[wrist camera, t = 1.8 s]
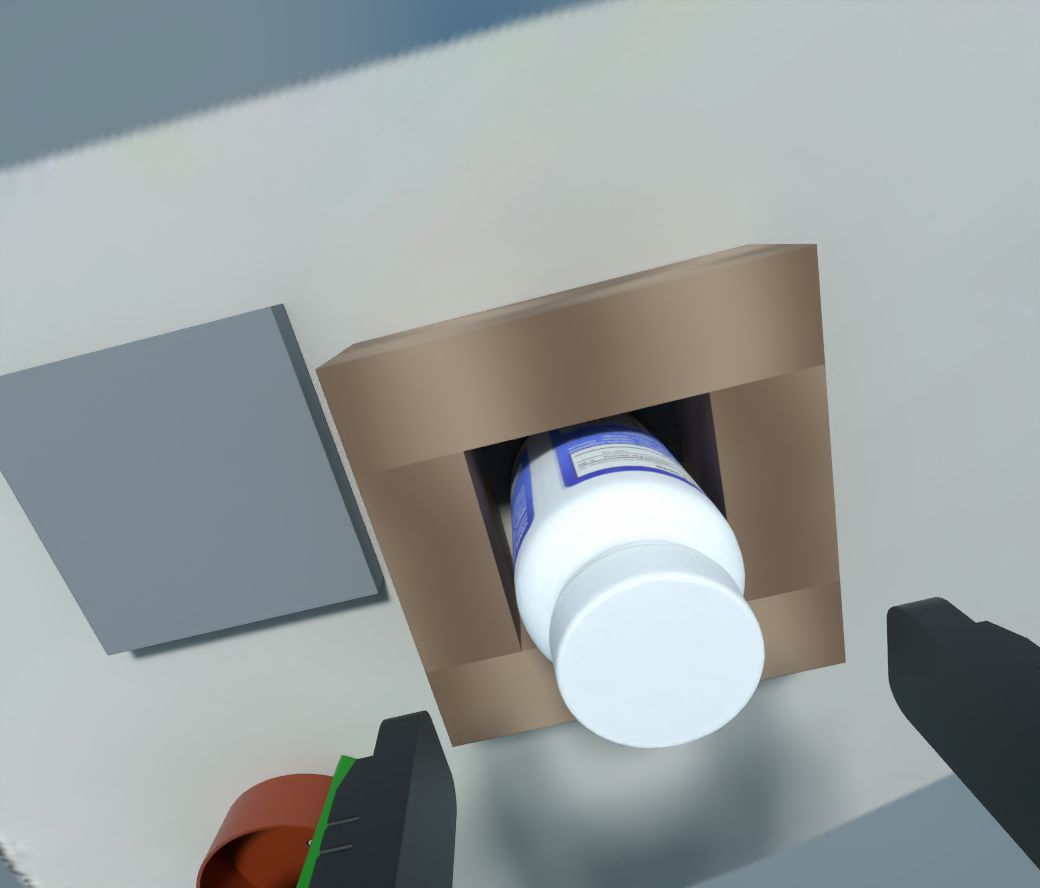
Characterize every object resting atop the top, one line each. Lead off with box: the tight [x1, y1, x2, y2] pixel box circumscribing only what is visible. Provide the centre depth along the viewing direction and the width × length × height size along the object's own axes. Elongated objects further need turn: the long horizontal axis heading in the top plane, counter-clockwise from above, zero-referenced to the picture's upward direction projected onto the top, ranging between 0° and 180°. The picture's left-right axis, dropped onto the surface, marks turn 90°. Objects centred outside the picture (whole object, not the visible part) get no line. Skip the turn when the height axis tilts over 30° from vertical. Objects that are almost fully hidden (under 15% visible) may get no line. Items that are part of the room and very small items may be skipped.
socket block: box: [316, 244, 846, 747], centre depth 18 cm, size 13×13×4 cm
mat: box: [0, 304, 384, 655], centre depth 19 cm, size 10×10×1 cm
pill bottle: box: [510, 413, 765, 748], centre depth 15 cm, size 5×5×10 cm
